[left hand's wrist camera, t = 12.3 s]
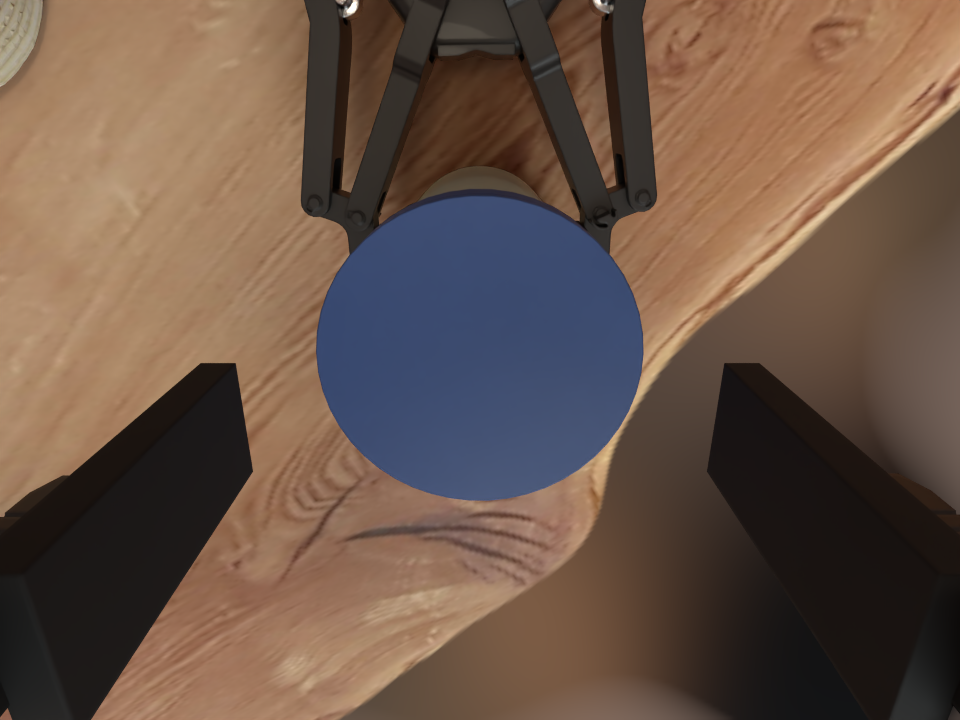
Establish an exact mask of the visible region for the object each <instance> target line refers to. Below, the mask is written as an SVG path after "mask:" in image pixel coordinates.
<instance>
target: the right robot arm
mask: <svg viewBox="0 0 960 720" xmlns="http://www.w3.org/2000/svg"><path fill="white" fill-rule="evenodd" d="M388 1H389V3H390V4H391V6H392V7H393V8H394V10H395V11H396V13H397V14H398V16H399V17H400V18H401V20H402V21H403V23H404V24H405V26H404V29H403V32H402V35H401V38H400V41H399V44H398V47H397V50H396V53H395V57H394V61H393V68H392V71H391V74H390V77H389V80H388V83H387V86H386V89H385V92H384V95H383V98H382V101H381V104H380V107H379V110H378V113H377V116H376V119H375V122H374V125H373V128H372V131H371V134H370V137H369V140H368V143H367V146H366V149H365V152H364V155H363V158H362V161H361V164H360V167H359V170H358V173H357V176H356V179H355V182H354V185H353V188H352V191H351V193H349V192H346V191H344V190H341V188H342V175H343V161H344V148H345V134H346V121H347V108H348V94H349V81H350V67H351V54H352V30H351V22H350V21H351V20H354V19H356V18H358V17H359V16H360V14H361V13H362V10H363V0H304V2H305V6H306V9H307V13H308V17H309V21H310V33H309V52H308V72H307V91H306V111H305V131H304V150H303V170H302V189H301V205H302V208H303V210H304V211H305V212H306V213H307V214H308V215H310V216H313V217H323V218H326V219H329V220H331V221H334V222H337V223H339V224H340V225H341V226H343V228H344V229H345V230H346V232H347V235H348V241H349V252H350V254H351V253H352V252H353V251H354V250H355V249H356V248H357V247H358V246H359V245H360V243H361V242H362V241H363V240H364V239H365V238H366V237H367V236H368V235H369V234H370V233H371V232H372V231H373V230H374V229H375V228H377V227H378V226H379V217H380V215H381V213H380V212H381V209H382V206H383V203H384V200H385V198H386V195H387V192H388V189H389V186H390V184H391V181H392V178H393V175H394V172H395V169H396V167H397V164H398V161H399V158H400V155H401V153H402V150H403V147H404V144H405V141H406V138H407V136H408V133H409V130H410V127H411V124H412V121H413V119H414V116H415V113H416V110H417V107H418V105H419V102H420V99H421V96H422V93H423V90H424V88H425V85H426V83H427V81H428V79H429V77H430V74H431V71H432V68H433V66H434V63H435V60H436V58H439V59H440V60H441V61H459V60H462V59H465V58H468V57H471V56H474V55H479V56H483V57H486V58H490V59H494V60H513V58H514V57H516V56H517V57H518V59H519V62H520V64H521V67H522V69H523V72H524V74H525V77H526V79H527V80H528V82H529V85H530V87H531V90H532V92H533V95H534V97H535V100H536V102H537V105H538V108H539V110H540V113H541V115H542V118H543V120H544V123H545V125H546V128H547V131H548V133H549V136H550V138H551V141H552V143H553V146H554V148H555V151H556V154H557V156H558V159H559V161H560V164H561V166H562V169H563V171H564V174H565V177H566V179H567V182H568V184H569V187H570V189H571V192H572V194H573V197H574V200H575V202H576V205H577V207H578V210H579V212H580V222H579V221H576V222H577V223H578V224H579V225H580V226H582V227H583V228H584V229H585V230H587V231H588V232H589V233H590V234H591V235H592V236H593V237H594V238H595V239H596V240H597V242H598V243H599V244H600V245H601V246H602V247H603V248H604V249H605V250H606V251H607V252H608V254H609V253H610V237H611V230H612V228H613V226H614V225H615V223H616V222H617V221H618V220H619V219H621V218H623V217H625V216H628V215H630V214H633V213H636V212H638V211H639V212H645V211H647V210H650V209H651V208H652V207H653V206H654V204H655V202H656V199H657V190H656V178H655V166H654V154H653V142H652V130H651V117H650V105H649V93H648V81H647V69H646V57H645V45H644V33H643V21H642V16H643V11H644V7H645V3H646V0H589V6H590V9H591V10H592V12H593V13H595V14H596V15H599V16H602V21H601V45H602V55H603V64H604V74H605V83H606V92H607V102H608V111H609V121H610V130H611V139H612V149H613V158H614V168H615V177H616V186H613V187H610V188H608V189H607V188H606V186H605V183H604V180H603V178H602V175H601V172H600V169H599V167H598V164H597V161H596V159H595V156H594V153H593V151H592V148H591V145H590V142H589V140H588V137H587V134H586V132H585V129H584V126H583V123H582V121H581V118H580V115H579V113H578V110H577V107H576V105H575V102H574V99H573V96H572V94H571V91H570V88H569V86H568V83H567V80H566V77H565V75H564V72H563V69H562V66H561V62H560V57H559V53H558V50H557V48H556V45H555V42H554V39H553V37H552V34H551V31H550V29H549V26H548V23H547V22H548V21H549V19H550V18H551V16H552V14H553V13H554V11H555V10H556V8H557V7H558V5H559V4H560V2H561V1H562V0H388Z"/></svg>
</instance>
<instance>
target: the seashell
mask: <svg viewBox="0 0 960 720" xmlns="http://www.w3.org/2000/svg"><path fill="white" fill-rule="evenodd" d="M42 9H43V0H0V87H1V86H3V85H4V84H6V83H7V82H8V81H9V80H10V79H11V78H12V77H13V76H14V75H15V74H16V73H17V72H18V70H19V69H20V68H21V66H22V65H23V63H24V62H25V61H26V59H27V58H28V56H29V54H30V53H31V51H32V49H33V48H34V46H35V42H36V39H37V36H38V33H39V29H40V23H41V19H42Z"/></svg>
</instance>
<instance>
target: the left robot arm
mask: <svg viewBox="0 0 960 720" xmlns="http://www.w3.org/2000/svg"><path fill="white" fill-rule="evenodd" d="M252 472H253V469H252V462H251V456H250V450H249V444H248V438H247V431H246V425H245V419H244V413H243V406H242V400H241V394H240V388H239V382H238V375H237V369H236V363H200V364H199V365H198V366H197V367H196V368H195V369H193V370H192V371H191V372H190V373H189V374H188V375H186V376H185V377H184V378H183V379H182V380H181V381H179V382H178V383H177V384H176V385H175V386H174V387H172V388H171V389H170V390H169V391H168V392H167V393H165V394H164V395H163V396H162V397H161V398H160V399H158V400H157V401H156V402H155V403H154V404H153V405H151V406H150V407H149V408H148V409H147V410H146V411H144V412H143V413H142V414H141V415H140V416H139V417H137V418H136V419H135V420H134V421H133V422H132V423H130V424H129V425H128V426H127V427H126V428H125V429H123V430H122V431H121V432H120V433H119V434H118V435H116V436H115V437H114V438H113V439H112V440H111V441H109V442H108V443H107V444H106V445H105V446H104V447H102V448H101V449H100V450H99V451H98V452H97V453H95V454H94V455H93V456H92V457H91V458H90V459H88V460H87V461H86V462H85V463H84V464H83V465H81V466H80V467H79V468H78V469H77V470H76V471H74V472H73V473H72V474H71V475H70V476H61V477H59V478H57V479H55V480H53V481H51V482H49V483H47V484H46V485H44V486H42V487H40V488H38V489H36V490H34V491H32V492H30V493H29V494H28V495H26V496H25V497H24V498H23V499H21V500H20V501H19V502H18V503H17V504H15V505H14V506H13V507H12V508H10V509H9V510H8V511H7V512H6V513H5V516H4V517H0V717H1V715H2V714H3V713H4V712H5V710H6V709H7V708H8V710H9V712H10V715H11V717H12V720H91V719H92V717H93V716H94V714H95V713H96V711H97V710H98V708H99V707H100V705H101V703H102V702H103V700H104V699H105V697H106V696H107V694H108V693H109V691H110V690H111V688H112V687H113V685H114V684H115V682H116V680H117V679H118V677H119V676H120V674H121V673H122V671H123V670H124V668H125V667H126V665H127V664H128V662H129V661H130V659H131V658H132V656H133V654H134V653H135V651H136V650H137V648H138V647H139V645H140V644H141V642H142V641H143V639H144V638H145V636H146V635H147V633H148V631H149V630H150V628H151V627H152V625H153V624H154V622H155V621H156V619H157V618H158V616H159V615H160V613H161V612H162V610H163V609H164V607H165V605H166V604H167V602H168V601H169V599H170V598H171V596H172V595H173V593H174V592H175V590H176V589H177V587H178V586H179V584H180V582H181V581H182V579H183V578H184V576H185V575H186V573H187V572H188V570H189V569H190V567H191V566H192V564H193V563H194V561H195V560H196V558H197V556H198V555H199V553H200V552H201V550H202V549H203V547H204V546H205V544H206V543H207V541H208V540H209V538H210V537H211V535H212V533H213V532H214V530H215V529H216V527H217V526H218V524H219V523H220V521H221V520H222V518H223V517H224V515H225V514H226V512H227V511H228V509H229V507H230V506H231V504H232V503H233V501H234V500H235V498H236V497H237V495H238V494H239V492H240V491H241V489H242V488H243V486H244V484H245V483H246V481H247V480H248V478H249V477H250V475H251V474H252ZM707 472H708V474H709V475H710V477H711V478H712V480H713V481H714V483H715V484H716V486H717V488H718V489H719V490H720V492H721V494H722V495H723V497H724V498H725V500H726V501H727V503H728V504H729V506H730V507H731V509H732V511H733V512H734V514H735V515H736V517H737V518H738V520H739V521H740V523H741V524H742V526H743V527H744V529H745V530H746V532H747V533H748V535H749V536H750V538H751V540H752V541H753V543H754V544H755V546H756V547H757V549H758V550H759V552H760V553H761V555H762V556H763V558H764V560H765V561H766V563H767V564H768V566H769V567H770V569H771V570H772V572H773V573H774V575H775V576H776V578H777V579H778V581H779V582H780V584H781V586H782V587H783V589H784V590H785V592H786V593H787V595H788V596H789V598H790V599H791V601H792V602H793V604H794V605H795V607H796V608H797V610H798V612H799V613H800V615H801V616H802V618H803V619H804V621H805V622H806V624H807V625H808V627H809V628H810V630H811V631H812V633H813V635H814V636H815V638H816V639H817V641H818V642H819V644H820V645H821V647H822V648H823V650H824V651H825V653H826V654H827V656H828V658H829V659H830V661H831V662H832V663H833V665H834V667H835V668H836V670H837V671H838V673H839V674H840V676H841V677H842V679H843V680H844V682H845V683H846V685H847V687H848V688H849V690H850V691H851V693H852V694H853V696H854V697H855V699H856V700H857V702H858V703H859V705H860V707H861V708H862V709H863V711H864V713H865V714H866V716H867V717H868V719H869V720H948V717H949V715H950V712H951V710H952V707H953V706H954V707H955V708H956V709H957V711H958V712H959V713H960V515H956V511H955V510H954V509H953V508H952V507H951V506H949V505H948V504H947V503H946V502H944V501H943V500H942V499H941V498H940V497H938V496H937V495H936V494H935V493H933V492H932V491H931V490H929V489H927V488H925V487H923V486H921V485H919V484H917V483H915V482H913V481H911V480H910V479H908V478H906V477H904V476H902V475H900V474H888V473H887V472H886V471H884V470H883V469H882V468H881V467H880V466H879V465H877V464H876V463H875V462H874V461H873V460H872V459H870V458H869V457H868V456H867V455H866V454H865V453H863V452H862V451H861V450H860V449H859V448H858V447H856V446H855V445H854V444H853V443H852V442H851V441H849V440H848V439H847V438H846V437H845V436H844V435H842V434H841V433H840V432H839V431H838V430H837V429H835V428H834V427H833V426H832V425H831V424H830V423H828V422H827V421H826V420H825V419H824V418H823V417H821V416H820V415H819V414H818V413H817V412H816V411H814V410H813V409H812V408H811V407H810V406H809V405H807V404H806V403H805V402H804V401H803V400H802V399H800V398H799V397H798V396H797V395H796V394H795V393H793V392H792V391H791V390H790V389H789V388H788V387H786V386H785V385H784V384H783V383H782V382H781V381H779V380H778V379H777V378H776V377H775V376H774V375H772V374H771V373H770V372H769V371H768V370H767V369H765V368H764V367H763V366H762V365H761V364H759V363H725V364H724V369H723V375H722V382H721V388H720V394H719V400H718V407H717V413H716V419H715V425H714V432H713V438H712V444H711V450H710V456H709V462H708V469H707Z"/></svg>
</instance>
